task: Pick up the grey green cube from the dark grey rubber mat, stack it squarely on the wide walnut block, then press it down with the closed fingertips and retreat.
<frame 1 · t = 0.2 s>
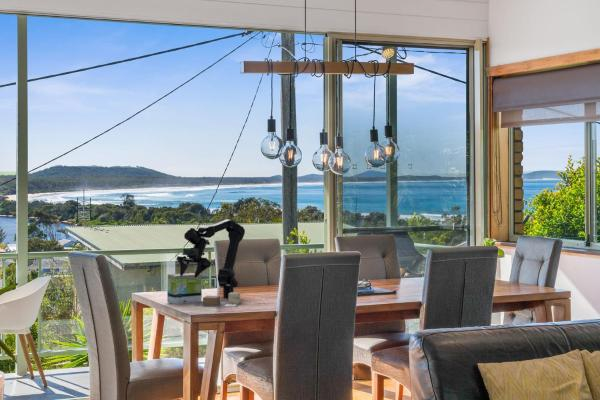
hand: (187, 276, 424), 15 cm above the table, fingers open, 9 cm apart
walnut block: (211, 304, 424), point 1 cm above the table, touching build mat
blueprint card: (230, 305, 421), resting on build mat
grey green cube: (234, 302, 429), point 1 cm above the table, touching build mat
build mat: (219, 305, 426), on the table
tea box: (184, 302, 436), on the table
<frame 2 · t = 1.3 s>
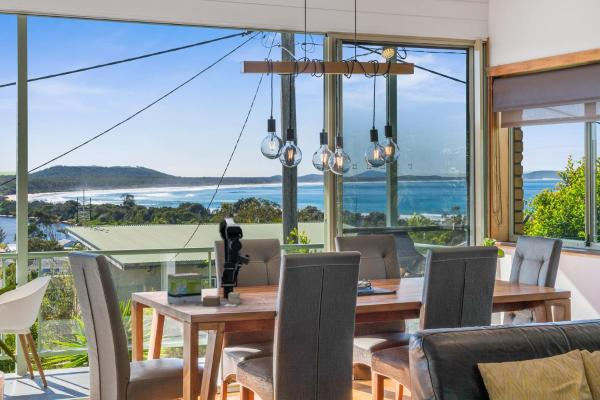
hand: (233, 280, 429), 12 cm above the table, fingers open, 9 cm apart
nothing on the table moved.
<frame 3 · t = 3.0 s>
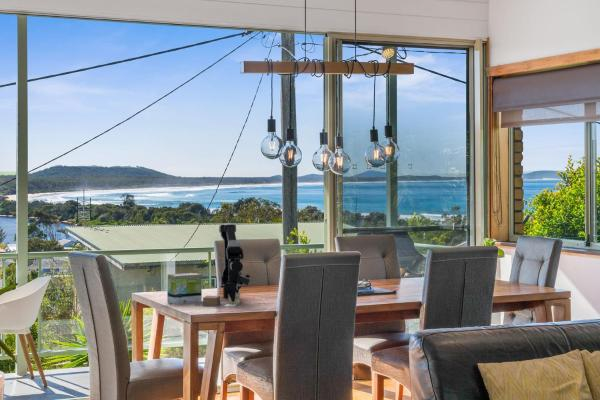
hand: (234, 300, 429), 2 cm above the table, fingers closed on grey green cube, 5 cm apart
grey green cube: (234, 302, 429), point 1 cm above the table, touching build mat, gripper
everything else where it was.
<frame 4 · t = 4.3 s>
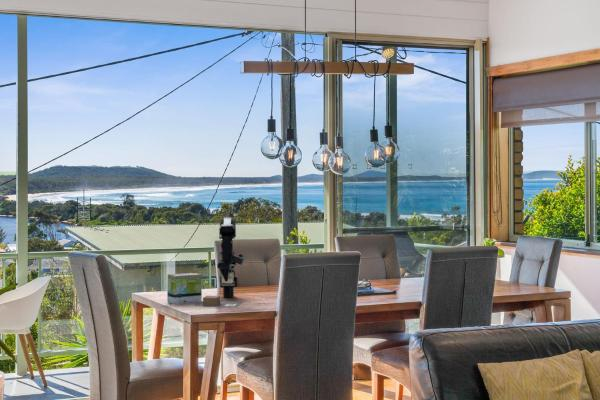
hand: (227, 280, 427), 12 cm above the table, fingers closed on grey green cube, 5 cm apart
grey green cube: (227, 282, 427), point 11 cm above the table, touching gripper
everything else where it was.
when the fingers open (7 cm above the table, at t = 6.0 s): grey green cube drops 2 cm, resting on walnut block.
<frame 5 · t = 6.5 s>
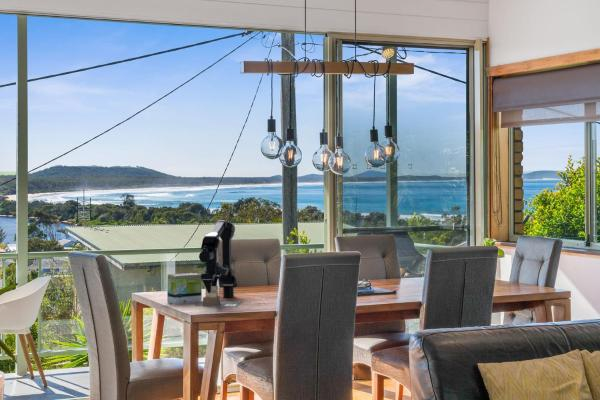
hand: (211, 291, 423), 7 cm above the table, fingers open, 9 cm apart
walnut block: (211, 304, 424), point 1 cm above the table, touching build mat, grey green cube
grey green cube: (211, 296, 424), point 5 cm above the table, touching walnut block
everything else where it was.
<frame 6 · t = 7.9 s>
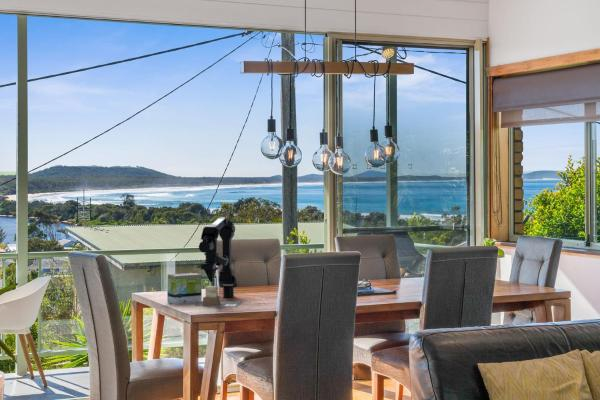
hand: (211, 282, 423), 12 cm above the table, fingers closed
nothing on the table moved.
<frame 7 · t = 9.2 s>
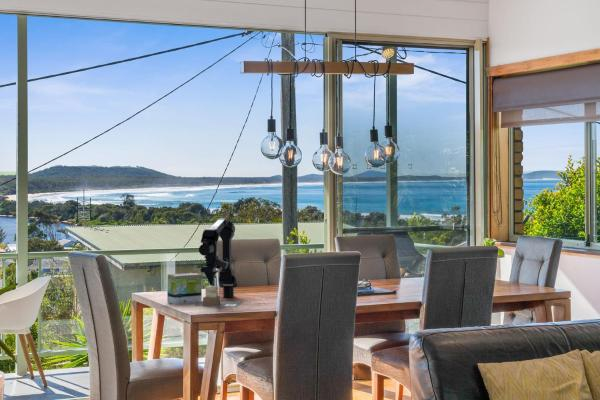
hand: (211, 285, 423), 10 cm above the table, fingers closed
nothing on the table moved.
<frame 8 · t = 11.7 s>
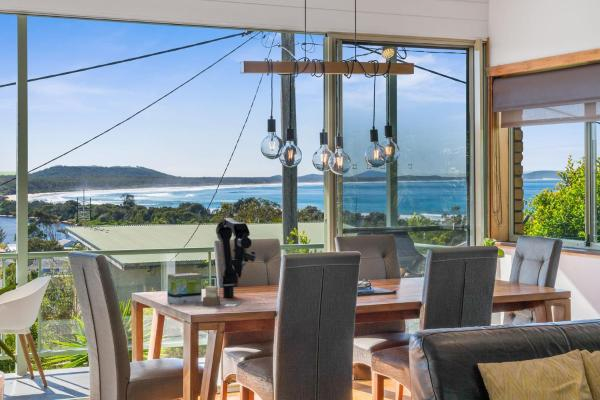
hand: (239, 277, 432), 13 cm above the table, fingers closed
nothing on the table moved.
at the end: grey green cube 0.1 cm off-centre on the walnut block, point 4.0 cm above the walnut block's base; grey green cube tilted 0°; the gripper is holding nothing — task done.
